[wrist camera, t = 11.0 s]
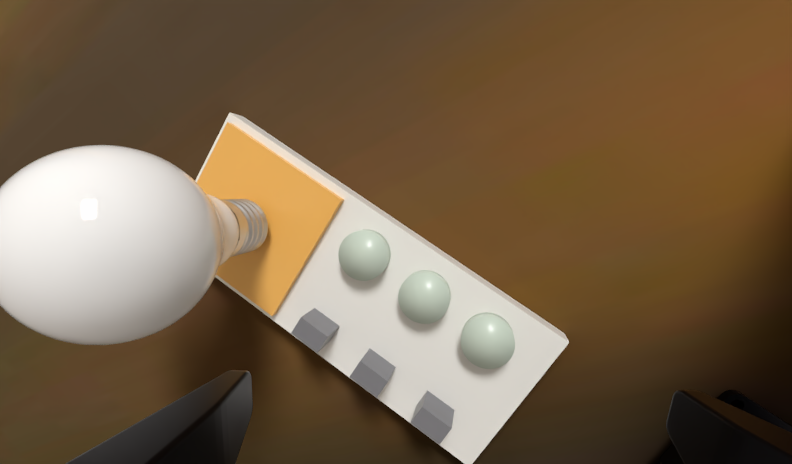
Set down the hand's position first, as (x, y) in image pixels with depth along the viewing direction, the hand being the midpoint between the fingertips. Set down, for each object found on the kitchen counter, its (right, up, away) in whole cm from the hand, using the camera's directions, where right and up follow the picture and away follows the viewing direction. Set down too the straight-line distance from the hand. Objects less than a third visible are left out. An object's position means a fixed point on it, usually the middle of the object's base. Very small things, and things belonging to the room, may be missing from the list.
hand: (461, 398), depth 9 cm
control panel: (-4, +1, +13) cm, 14 cm away
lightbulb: (-9, +4, +12) cm, 16 cm away
